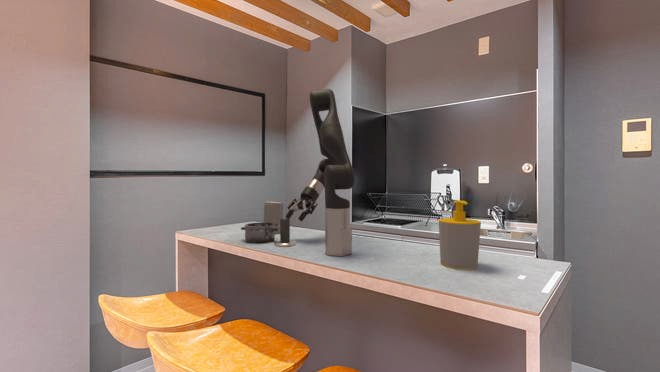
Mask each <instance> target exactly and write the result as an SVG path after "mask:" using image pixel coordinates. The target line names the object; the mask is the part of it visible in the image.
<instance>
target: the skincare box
mask: <svg viewBox="0 0 660 372" xmlns="http://www.w3.org/2000/svg"><path fill="white" fill-rule="evenodd" d="M284 204H285V203H284V202H279V201H264V203H263V205H264V206H263V207H264V208H263V222H262V223H274V224H275V228H279V231H275V235H278V234H279V235H280V219H284V206H285V205H284Z"/></svg>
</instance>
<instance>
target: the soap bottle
mask: <svg viewBox="0 0 660 372" xmlns="http://www.w3.org/2000/svg"><path fill="white" fill-rule="evenodd" d="M453 203H455V210H453V211H452V217H445V218H439V219H438V234H439V235H438V236H439V237H438V239H439V256H440V260H439V261H440V265H441V266H443V267H444V268H445V267H446V268H448V269H454V270H463V271H465V270H468V269H469V270H475V269H477V268H478V267H479V265H478V264H479V263H478V262H479V253H480V251H479V250H480V238H481V237H480V236H481V225H482V223H481V221H480V220H478V219H472V218H466V211H465V210H464V205H465V206H466V205H469V203H468V202H467V201H466V200H457V199H456V200H453Z"/></svg>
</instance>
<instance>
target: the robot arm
mask: <svg viewBox="0 0 660 372" xmlns="http://www.w3.org/2000/svg"><path fill="white" fill-rule="evenodd" d="M335 97H336V96H335V93H334V91H333V90H332V89H331V88H324V89H316V90H311V91H310V93H309V103H310V109H311V114H312V117H313V122H314V127H315V129H316V133H317V137H318V143H319V150H320V154H321V155H322V156H324V157H325V158H323V159H321V160H320V161H319V163H318V165H317V169H316V172H315V174H314V176H313V177H312V179H310V181H309V182H308V183H307V184H306V186H305V187H304V188H303V190H302V191H301V193H300V198H299V199H296V198H294V199H293V200H292V201H291V202H290V204H289V205H288V206H287V210H288V211H287V213H286V215H285V218H287V219H291V218H292V216H293V215H294V213H296V212H299V211H300V210H302V212H301V213H300V215H299V216H298V220H299V222H303V221H304V220H305V218H306V217H307V216H308V215H312V214H313V213H314V211H315V209H316V208H317V206H318V202H317V201H318V198H320V196H321V195H322V193H323V191H324V201H325V204H324V206H325V207H324V208H325V209H324V211H325V213H324V215H325V216H324V228H325V229H324V235H325V236H324V237H325V239H324V242H325V245H324V246H325V248H324V251H325V252H324V253H325V254H326V255H328V256H335V257H337V256H338V257H344V256H348V255H351V254H353V230H352V229H353V228H351V226H350V225H351V220H350V219H351V216H350V215H351V212H350V211H351V209H350V208H351V203H350V200H349V199H347V198H344V197H341V196H340V195H338V194H337V193H336V190H350V189H353V187H354V186H355V172H354V168H353V165H352V162H351V160H350V157H349V155H348V151H347V148H346V147H347V146H346V142H345V137H344V134H343V133H344V132H343V129H342V126H341V121H340V118H339V115H338V108H337V107H338V106H337V102H336V98H335ZM326 111H328V112H327V115H326V117H325V118H324V120H323V119H322V118H321V114H320V112H326Z"/></svg>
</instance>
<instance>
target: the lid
mask: <svg viewBox="0 0 660 372" xmlns="http://www.w3.org/2000/svg"><path fill="white" fill-rule="evenodd" d="M290 219H291V218H290ZM290 219H287V218H286V217H285V218H284V217H283V219H280V233H279V238H280V240H277V241H273V245H274V247H279V248H289V247H290V248H291V247H294V246H296V245H297V241H294V240H291V239H290V238H291V236H290V234H291V232H290V229H291V226H290V225H291V224H290V223H291V222H290V221H291V220H290Z"/></svg>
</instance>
